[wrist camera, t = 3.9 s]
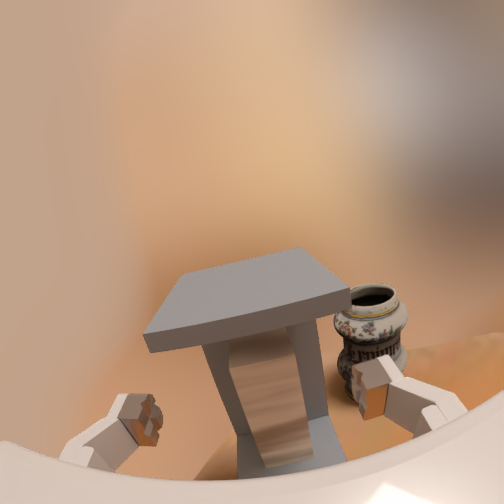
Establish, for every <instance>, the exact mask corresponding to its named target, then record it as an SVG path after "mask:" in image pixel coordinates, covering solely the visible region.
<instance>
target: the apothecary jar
mask: <svg viewBox="0 0 504 504" xmlns="http://www.w3.org/2000/svg"><path fill="white" fill-rule="evenodd" d="M350 294H351V302H352V309H348V310H345V311H341V312H338V313H335V316H334V327H335V329H336V331H337V332H338V333H339V335H341V336H342V337H343V342H344V349H343V350H342V351H341V353H340V355H339V357H338V361H337V367H338V371H339V373H340V375H341V376H342V377H343V378H344V379H345V380H346V381H347V382H346V385H345V390H346V392H347V394H348V395H349V396H350V397H351V398H352V399H354V396H353V393H352V379H353V378H354V376H353V374H352V365H354V364H358V363H362V362H365V361H368V360H372V359H376V358H378V357H381V356H384V355H389V356H390V357H391V359H392V360H393V362H394V363H395V364H396V366H397V367H398V369H399V370H400V371H401V372H402V371H403V370H404V368H405V365H406V362H407V353H406V350H405V348H404V346H403V345H402V344H401V343H400V331H401V330H402V329H403V328H404V326H405V324H406V322H407V319H408V311H407V308H406V306H405V305H404V303H403V302H402V301H401V300H399V299H398V297H397V292H396V290H395V288H394V287H392V286H390V285H387V284H382V283H367V284H363V285H359V286H356V287H353V288H351V289H350ZM354 400H355V399H354Z"/></svg>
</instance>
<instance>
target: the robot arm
mask: <svg viewBox="0 0 504 504" xmlns="http://www.w3.org/2000/svg"><path fill="white" fill-rule="evenodd" d="M352 374H353V376H354V378H353V379H352V393H353V396H354V399H355V401H356V402H357V403H359V411H360V413H361V415H362V417H363V420H368V419H371V418H375V417H378V416H381V415H384V416H385V417H387V418H388V419H390V420H392V421H393V422H395V423H397V424H398V425H400V426H401V427H403V428H405V429H406V430H408V431H410V432H411V433H413V434H414V435H413V438H412V439H411V440H409V441H407V442H404V443H402V444H399V445H396V446H394V447H391V448H388V449H386V450H383V451H380V452H377V453H374V454H371V455H368V456H364V457H361V458H358V459H354V460H351V461H347V462H343V463H340V464H336V465H332V466H327V467H323V468H318V469H314V470H309V471H304V472H298V473H292V474H286V475H279V476H271V477H263V478H252V479H239V480H214V481H196V480H171V479H158V478H148V477H139V476H132V475H125V474H119V473H116V472H115V470H116V469H117V468H118V467H119V466H120V465H121V464H122V463H123V462H124V461H125V460H126V459H127V458H128V457H129V456H130V455H131V454H132V453H133V452H134V451H135V450H136V449H137V448H138V447H139V446H157V442H158V439H159V433H158V432H157V431H158V430H159V429H160V428H162V425H163V415H162V412H161V410H160V408H159V407H158V406H156V405H155V404H154V403H155V399H154V397H153V395H151V394H125V393H120V394H119V395H118V396H117V398H116V400H115V401H114V404H113V405H112V407H111V410H110V411H109V414H108V415H107V417H106V418H102V419H101V420H99V421H98V422H96V423H95V424H93V425H92V426H91V427H89V428H88V429H86V430H85V431H83V432H82V433H80V434H79V435H77V436H76V437H74V438H72V439H71V440H69V441H68V442H67V444H66V446H65V448H64V450H63V452H62V453H61V455H60V457H59V459H56V458H53V457H50V456H46V455H43V454H41V453H38V452H35V451H32V450H30V449H27V448H24V447H22V446H19V445H17V444H15V443H13V442H10V441H7V440H4V441H1V442H0V504H504V389H503V390H502V391H500V392H499V393H497V394H496V395H494V396H493V397H491V398H490V399H488V400H487V401H485V402H483V403H482V404H480V405H479V406H477V407H475V408H474V409H472V410H470V411H468V410H467V409H466V408H465V406H464V405H463V404H462V402H461V401H460V400H459V399H458V397H457V396H456V395H455V394H454V393H452V392H449V391H446V390H443V389H440V388H438V387H435V386H432V385H429V384H427V383H424V382H421V381H418V380H416V379H413V378H410V377H406V378H405V377H404V376H403V374H402V373H401V371H400V370H399V369H398V367H397V366H396V364H395V363H394V362H393V360H392V359H391V357H390V356H389V355H384V356H381V357H378V358H376V359H372V360H368V361H365V362H362V363H358V364H354V365H352Z"/></svg>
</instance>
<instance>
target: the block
mask: <svg viewBox="0 0 504 504" xmlns="http://www.w3.org/2000/svg"><path fill="white" fill-rule="evenodd" d="M229 371H230V374H231V376H232V379H233V382H234V385H235V388H236V391H237V394H238V396H239V399H240V402H241V405H242V408H243V410H244V413H245V416H246V418H247V421H248V424H249V426H250V429H251V432H252V434H253V437H254V439H255V442H256V445H257V447H258V450H259V452H260V455H261V457H262V460H263V462H264V464H265V467H266V468H270V467H275V466H280V465H285V464H290V463H294V462H299V461H303V460H307V459H311V458H314V454H313V448H312V443H311V437H310V431H309V426H308V420H307V415H306V409H305V404H304V398H303V393H302V388H301V383H300V377H299V372H298V367H297V362H296V357H295V353H294V350H293V347H292V344H291V342H290V339H289V336H288V333H287V331H286V328H285V327H282V328H278V329H274V330H270V331H266V332H261V333H257V334H253V335H248V336H244V337H239V338H234V339H230V350H229Z"/></svg>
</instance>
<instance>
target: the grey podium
mask: <svg viewBox="0 0 504 504" xmlns="http://www.w3.org/2000/svg"><path fill="white" fill-rule="evenodd" d="M348 309H352V302H351V294H350V287H348V285H346V284H345V283H344V282H343V281H341V280H340V279H339V278H338V277H337V276H336V275H334V274H333V273H332V272H331V271H329V270H328V269H327V268H326V267H325V266H323V265H322V264H321V263H320V262H318V261H317V260H316V259H315V258H314V257H312V256H311V255H310V254H309V253H307V252H306V251H305V250H304V249H302V248H301V247H297V248H293V249H289V250H285V251H280V252H276V253H272V254H268V255H264V256H260V257H255V258H251V259H247V260H242V261H238V262H234V263H230V264H226V265H221V266H217V267H213V268H209V269H204V270H200V271H196V272H191V273H187V274H183V275H182V276H181V277H180V279H179V280H178V282H177V283H176V284H175V286H174V287H173V289H172V290H171V292H170V293H169V295H168V296H167V298H166V299H165V301H164V302H163V304H162V305H161V307H160V308H159V310H158V311H157V313H156V314H155V316H154V317H153V319H152V320H151V322H150V323H149V325H148V327H147V328H146V330H145V331H144V333H143V337H144V339H145V342H146V344H147V346H148V349H149V351H150V353H156V352H162V351H169V350H175V349H181V348H187V347H192V346H198V345H202V348H203V351H204V353H205V356H206V359H207V362H208V365H209V367H210V370H211V373H212V375H213V378H214V381H215V383H216V386H217V388H218V391H219V394H220V396H221V399H222V401H223V403H224V406H225V408H226V411H227V413H228V415H229V418H230V421H231V423H232V425H233V428H234V430H235V432H236V434H237V462H238V480H239V479H252V478H263V477H271V476H279V475H286V474H292V473H298V472H304V471H309V470H314V469H318V468H323V467H327V466H332V465H336V464H340V463H343V462H347V459H346V457H345V454H344V452H343V449H342V447H341V444H340V442H339V439H338V437H337V435H336V432H335V430H334V427H333V425H332V422H331V420H330V417H329V414H328V405H327V396H326V388H325V380H324V373H323V365H322V358H321V351H320V344H319V337H318V331H317V324H316V319H317V318H320V317H324V316H327V315H331V314H335V313H338V312H341V311H345V310H348ZM282 327H285V328H286V331H287V333H288V336H289V339H290V342H291V344H292V347H293V350H294V353H295V357H296V362H297V367H298V372H299V377H300V383H301V388H302V393H303V398H304V404H305V409H306V415H307V420H308V426H309V431H310V437H311V443H312V448H313V454H314V458H311V459H307V460H303V461H299V462H294V463H290V464H285V465H280V466H275V467H270V468H266V467H265V464H264V462H263V460H262V457H261V455H260V452H259V450H258V447H257V445H256V442H255V439H254V437H253V434H252V432H251V429H250V426H249V424H248V421H247V418H246V416H245V413H244V410H243V408H242V405H241V402H240V399H239V396H238V394H237V391H236V388H235V385H234V382H233V379H232V376H231V374H230V371H229V350H230V339H234V338H239V337H244V336H248V335H253V334H257V333H261V332H266V331H270V330H274V329H278V328H282Z"/></svg>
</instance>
